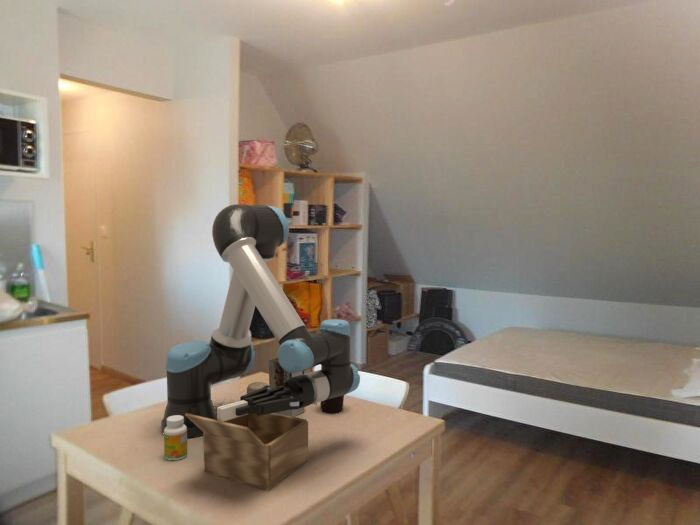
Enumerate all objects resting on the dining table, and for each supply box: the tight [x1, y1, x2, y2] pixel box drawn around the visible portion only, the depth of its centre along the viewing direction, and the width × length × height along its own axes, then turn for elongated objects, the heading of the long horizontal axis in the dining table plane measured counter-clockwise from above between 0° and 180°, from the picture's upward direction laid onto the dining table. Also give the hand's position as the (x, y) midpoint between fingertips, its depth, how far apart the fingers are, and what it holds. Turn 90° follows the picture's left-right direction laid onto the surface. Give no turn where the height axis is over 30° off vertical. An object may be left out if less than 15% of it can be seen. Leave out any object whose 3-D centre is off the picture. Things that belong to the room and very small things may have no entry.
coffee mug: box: [320, 395, 345, 415], centre depth 164 cm, size 12×9×10 cm
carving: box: [246, 381, 270, 394], centre depth 150 cm, size 6×8×12 cm
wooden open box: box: [202, 413, 309, 492], centre depth 125 cm, size 19×17×10 cm
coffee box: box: [268, 356, 305, 417], centre depth 160 cm, size 9×6×16 cm
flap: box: [185, 413, 265, 447], centre depth 114 cm, size 17×8×1 cm
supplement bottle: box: [163, 415, 188, 461], centre depth 130 cm, size 5×5×10 cm
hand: (219, 414), depth 112 cm, fingers closed
